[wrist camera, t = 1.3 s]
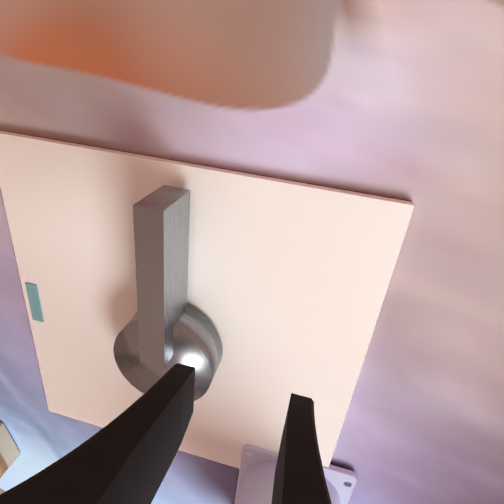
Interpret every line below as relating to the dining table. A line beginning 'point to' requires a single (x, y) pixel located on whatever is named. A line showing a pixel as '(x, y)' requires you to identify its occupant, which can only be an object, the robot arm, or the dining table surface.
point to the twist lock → (165, 299)
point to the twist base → (201, 285)
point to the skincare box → (6, 449)
